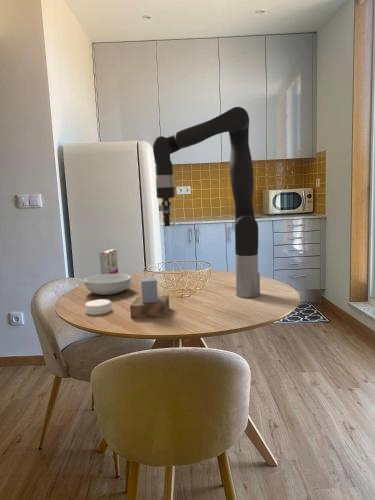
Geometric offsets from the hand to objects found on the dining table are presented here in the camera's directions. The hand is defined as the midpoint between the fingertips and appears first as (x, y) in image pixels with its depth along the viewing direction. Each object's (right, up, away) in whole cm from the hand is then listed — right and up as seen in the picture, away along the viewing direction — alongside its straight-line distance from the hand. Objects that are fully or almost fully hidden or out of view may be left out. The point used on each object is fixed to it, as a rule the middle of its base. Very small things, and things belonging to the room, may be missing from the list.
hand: (167, 225), depth 164 cm
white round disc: (-25, -34, -15) cm, 45 cm away
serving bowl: (-27, -30, +13) cm, 43 cm away
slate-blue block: (-5, -29, -21) cm, 37 cm away
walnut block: (-5, -34, -20) cm, 40 cm away
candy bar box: (-30, -27, +32) cm, 52 cm away
